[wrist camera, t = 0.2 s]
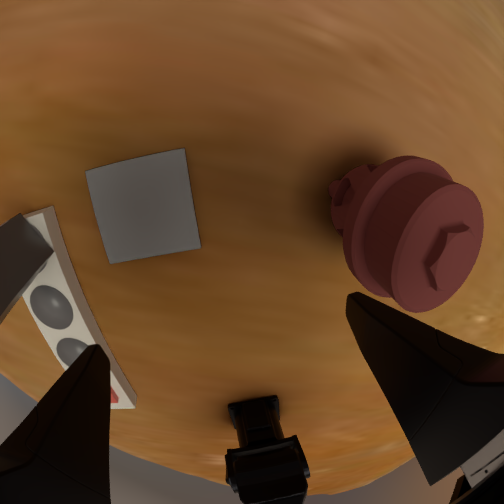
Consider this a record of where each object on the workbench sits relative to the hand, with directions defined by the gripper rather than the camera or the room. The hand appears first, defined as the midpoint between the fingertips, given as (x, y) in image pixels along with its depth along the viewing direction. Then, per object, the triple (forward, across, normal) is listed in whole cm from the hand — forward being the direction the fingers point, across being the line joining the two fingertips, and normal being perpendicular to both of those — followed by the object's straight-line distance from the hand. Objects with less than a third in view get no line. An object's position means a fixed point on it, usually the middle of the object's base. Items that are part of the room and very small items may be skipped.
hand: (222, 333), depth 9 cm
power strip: (+14, +16, +9) cm, 23 cm away
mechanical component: (+14, -13, +2) cm, 20 cm away
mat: (+14, +5, -1) cm, 15 cm away
